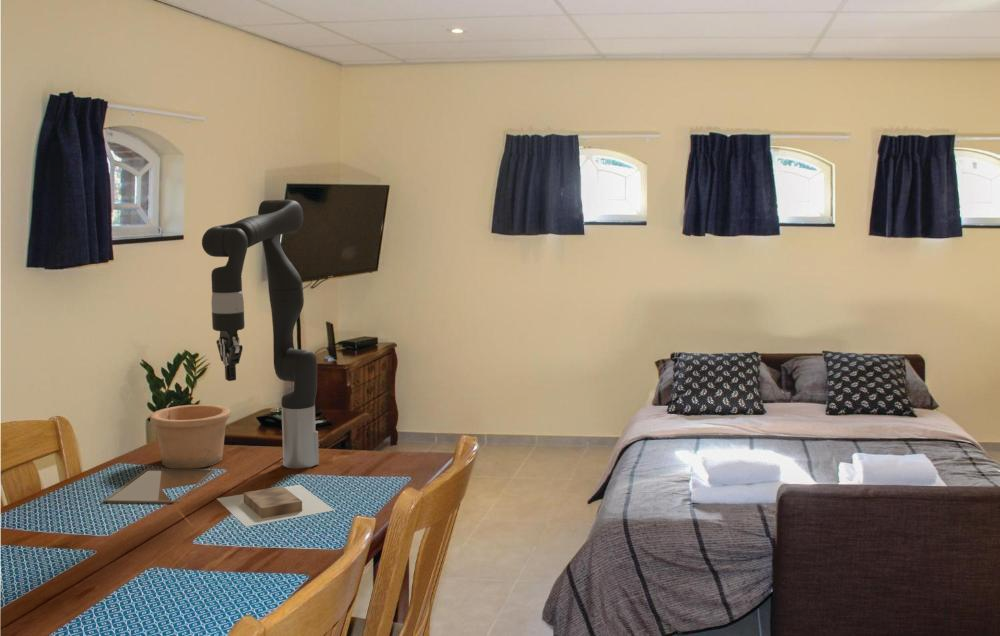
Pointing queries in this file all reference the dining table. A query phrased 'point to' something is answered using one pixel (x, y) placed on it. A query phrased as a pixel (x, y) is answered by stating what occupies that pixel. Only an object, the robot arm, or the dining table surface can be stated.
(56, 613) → the dining table surface
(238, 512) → the mat
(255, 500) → the walnut tile
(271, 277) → the robot arm
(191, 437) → the pottery
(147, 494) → the picture frame
